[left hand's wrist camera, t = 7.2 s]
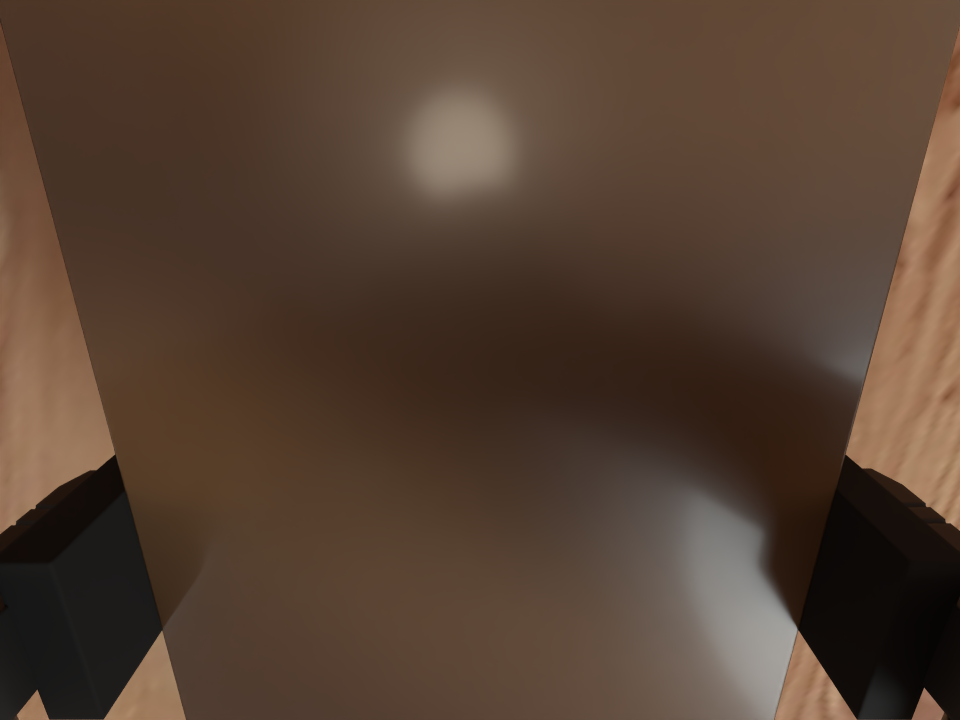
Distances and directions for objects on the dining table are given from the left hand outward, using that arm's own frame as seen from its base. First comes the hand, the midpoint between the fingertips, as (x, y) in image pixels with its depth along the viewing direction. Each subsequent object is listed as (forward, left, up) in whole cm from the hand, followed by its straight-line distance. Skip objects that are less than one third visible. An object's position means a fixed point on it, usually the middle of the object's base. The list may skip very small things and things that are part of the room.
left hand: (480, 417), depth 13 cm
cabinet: (0, +4, -3) cm, 5 cm away
